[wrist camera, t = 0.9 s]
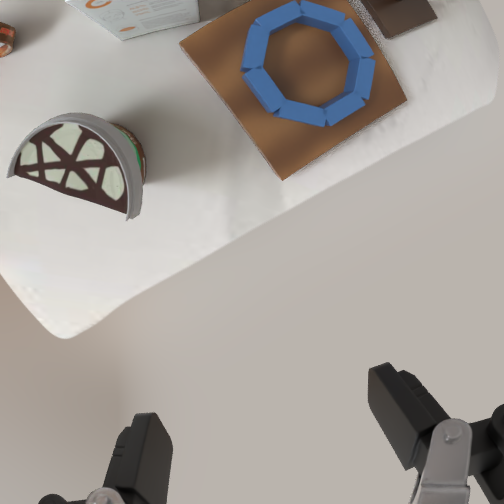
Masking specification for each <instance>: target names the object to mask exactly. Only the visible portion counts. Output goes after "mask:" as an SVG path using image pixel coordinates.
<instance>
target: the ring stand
mask: <svg viewBox="0 0 504 504" xmlns="http://www.w3.org/2000/svg"><path fill="white" fill-rule="evenodd" d="M360 1H361V2H362V3H363V5H364V6H365V8H366V9H367V10H368V12H369V13H370V15H371V16H372V18H373V19H374V21H375V22H376V24H377V25H378V27H379V28H380V30H381V32H382V33H383V35H384V36H385V38H386V39H387V38H390V37H393V36H395V35H397V34H400V33H402V32H404V31H407V30H409V29H412V28H414V27H416V26H419V25H421V24H424V23H426V22H429V21H432V20H434V19H437V16H436V14H435V13H434V11H433V9H432V8H431V6H430V4H429V3H428V1H427V0H360Z"/></svg>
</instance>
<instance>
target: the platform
mask: <svg viewBox="0 0 504 504" xmlns="http://www.w3.org/2000/svg"><path fill="white" fill-rule="evenodd" d="M291 1H294V0H251V1H249V2H247V3H245V4H243V5H241V6H239V7H237V8H235V9H234V10H232V11H230V12H228V13H226V14H224V15H223V16H221V17H219V18H218V19H216V20H214V21H212V22H211V23H209V24H207V25H206V26H204V27H203V28H201V29H199V30H198V31H196V32H195V33H193V34H192V35H190V36H188V37H187V38H185V39H184V40H182V41H181V42H180V43H179V45H180V47H181V49H182V51H183V52H184V53H185V54H186V56H187V57H188V58H189V59H190V60H191V62H192V63H193V64H194V65H195V67H196V68H197V69H198V70H199V72H200V73H201V74H202V75H203V77H204V78H205V79H206V80H207V82H208V83H209V84H210V85H211V87H212V88H213V89H214V91H215V92H216V93H217V94H218V96H219V97H220V98H221V100H222V101H223V102H224V104H225V105H226V106H227V108H228V109H229V110H230V112H231V113H232V114H233V116H234V117H235V118H236V120H237V121H238V122H239V124H240V125H241V126H242V128H243V129H244V130H245V132H246V133H247V135H248V136H249V137H250V139H251V140H252V141H253V143H254V144H255V146H256V147H257V148H258V150H259V151H260V153H261V154H262V155H263V157H264V158H265V160H266V161H267V163H268V164H269V165H270V167H271V168H272V170H273V171H274V173H275V174H276V175H277V176H278V177H279V178H280V179H281V180H282V181H283V180H284V179H286V178H287V177H289V176H290V175H292V174H293V173H295V172H296V171H298V170H299V169H301V168H302V167H304V166H305V165H307V164H308V163H310V162H311V161H313V160H314V159H316V158H317V157H319V156H320V155H322V154H323V153H325V152H326V151H328V150H329V149H331V148H332V147H334V146H335V145H337V144H338V143H340V142H341V141H343V140H345V139H346V138H348V137H349V136H351V135H352V134H354V133H355V132H357V131H359V130H360V129H362V128H363V127H365V126H366V125H368V124H370V123H371V122H373V121H374V120H376V119H378V118H379V117H381V116H382V115H384V114H386V113H387V112H389V111H391V110H392V109H394V108H395V107H397V106H399V105H400V104H402V103H404V102H405V101H407V98H406V96H405V94H404V92H403V90H402V88H401V86H400V85H399V83H398V81H397V79H396V77H395V75H394V73H393V71H392V70H391V68H390V66H389V64H388V62H387V61H386V59H385V57H384V55H383V54H382V52H381V50H380V49H379V47H378V45H377V44H376V42H375V41H374V39H373V37H372V36H371V34H370V33H369V31H368V30H367V28H366V27H365V25H364V24H363V22H362V21H361V19H360V18H359V16H358V15H357V14H356V12H355V11H354V9H353V8H352V7H351V5H350V4H349V2H348V1H347V0H305V1H308V2H311V3H315V4H318V5H321V6H324V7H328V8H331V9H334V10H336V11H339V12H342V13H345V19H344V20H347V19H349V18H351V19H352V20H353V22H354V23H355V25H356V26H357V28H358V29H359V31H360V32H361V34H362V35H363V37H364V38H365V40H366V41H367V43H368V45H369V46H370V48H371V49H372V51H373V53H374V55H373V56H371V57H369V58H371V59H373V60H375V61H376V62H375V68H374V74H373V80H372V85H371V91H370V96H369V100H363V101H364V103H365V106H363V107H361V108H360V109H358V110H356V111H355V112H353V113H351V114H350V115H348V116H347V117H345V118H343V119H342V120H340V121H338V122H337V123H335V124H334V125H332V126H327V125H325V126H324V127H319V126H314V125H309V124H305V123H301V122H296V121H292V120H287V119H282V118H277V117H273V115H274V112H273V113H267V112H266V110H265V109H264V107H263V106H262V105H261V103H260V102H259V100H258V99H257V98H256V96H255V95H254V94H253V92H252V91H251V89H250V88H249V87H248V85H247V84H246V83H245V81H244V80H243V79H242V76H243V75H244V74H245V73H246V72H242V71H240V67H241V62H242V58H243V53H244V48H245V43H246V38H247V34H248V30H249V28H250V26H251V24H253V23H254V21H255V19H256V18H258V17H260V16H262V15H264V14H266V13H268V12H270V11H272V10H274V9H276V8H278V7H281V6H283V5H285V4H287V3H289V2H291ZM295 1H296V2H297V3H299V2H300V1H301V0H295ZM348 65H349V60H348V58H347V57H346V55H345V54H344V52H343V51H342V49H341V48H340V46H339V45H338V43H337V42H336V40H335V39H334V37H333V36H332V35H331V33H330V32H327V31H324V30H321V29H318V28H314V27H311V26H307V25H304V24H300V23H296V22H295V23H293V24H291V25H289V26H287V27H285V28H283V29H281V30H279V31H277V32H275V33H274V34H272V35H270V36H269V39H268V44H267V49H266V54H265V59H264V64H263V68H264V69H265V71H266V72H267V73H268V75H269V76H270V77H271V79H272V80H273V81H274V83H275V84H276V86H277V87H278V88H279V90H280V91H281V93H282V94H283V96H284V97H285V98H286V99H287V100H291V101H296V102H300V103H304V104H308V105H312V106H316V107H319V106H321V105H322V104H324V103H326V102H327V101H329V100H331V99H332V98H334V97H336V96H338V95H339V94H341V93H343V92H344V87H345V82H346V76H347V71H348Z"/></svg>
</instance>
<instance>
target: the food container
mask: <svg viewBox="0 0 504 504" xmlns="http://www.w3.org/2000/svg"><path fill="white" fill-rule="evenodd" d="M15 175H17V176H19V177H23V178H26V179H29V180H32V181H35V182H37V183H40V184H42V185H45V186H47V187H49V188H52V189H54V190H56V191H58V192H61V193H63V194H66V195H70V196H73V197H77V198H80V199H84V200H87V201H90V202H93V203H96V204H99V205H102V206H105V207H108V208H111V209H113V210H116V211H119V212H122V213H125V214H127V216H126V221H127V220H128V219H129V218H130V219H133V218H135V217H136V216H138V215H139V214H140V210H141V205H142V195H143V184H144V180H145V176H146V158H145V155H144V152H143V149H142V146H141V144H140V143H139V141H138V140H137V139H136V137H135V136H134V135H133V133H131V132H130V131H129V130H127V129H126V128H124V127H122V126H120V125H117V124H112V123H108V122H107V121H105V120H103V119H101V118H99V117H96V116H94V115H91V114H85V113H68V114H63V115H59V116H57V117H54V118H52V119H50V120H48V121H46V122H45V123H43V124H41V125H40V126H38V127H37V128H35V129H34V130H33V131H32V132H31V133H30V134H29V135H27V136H26V138H25V139H24V140H23V142H22V143H21V144H20V146H19V147H18V148H17V150H16V152H15V154H14V156H13V157H12V160H11V163H10V165H9V168H8V173H7V178H9V177H12V176H15Z"/></svg>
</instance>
